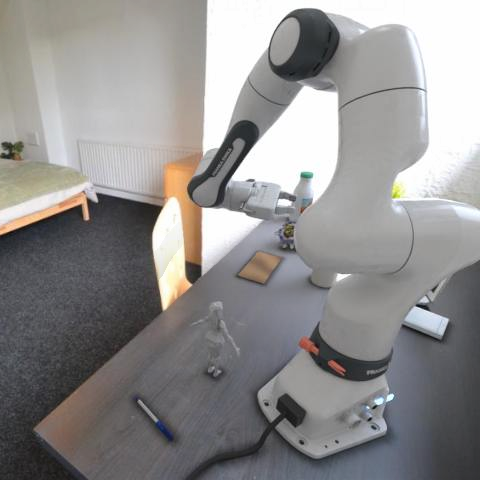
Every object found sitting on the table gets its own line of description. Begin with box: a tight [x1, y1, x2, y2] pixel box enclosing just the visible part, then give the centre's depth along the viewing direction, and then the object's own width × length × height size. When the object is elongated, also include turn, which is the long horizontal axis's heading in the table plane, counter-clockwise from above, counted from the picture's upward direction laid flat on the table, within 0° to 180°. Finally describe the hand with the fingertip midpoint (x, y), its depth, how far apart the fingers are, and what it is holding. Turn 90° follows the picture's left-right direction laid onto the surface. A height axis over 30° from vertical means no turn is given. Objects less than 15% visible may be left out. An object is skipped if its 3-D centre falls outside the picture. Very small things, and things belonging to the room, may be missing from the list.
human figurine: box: [189, 300, 243, 378], centre depth 64 cm, size 12×4×18 cm, turn 45°
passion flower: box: [273, 219, 297, 250], centre depth 116 cm, size 11×11×12 cm
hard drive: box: [402, 305, 450, 340], centre depth 82 cm, size 2×8×12 cm
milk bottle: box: [288, 171, 315, 221], centre depth 133 cm, size 8×8×20 cm
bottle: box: [310, 269, 338, 289], centre depth 93 cm, size 6×6×18 cm
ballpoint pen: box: [135, 397, 174, 441], centre depth 60 cm, size 10×1×1 cm, turn 41°
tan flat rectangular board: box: [237, 251, 283, 285], centre depth 105 cm, size 18×8×1 cm, turn 146°
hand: (295, 204), depth 91 cm, fingers open, 8 cm apart
